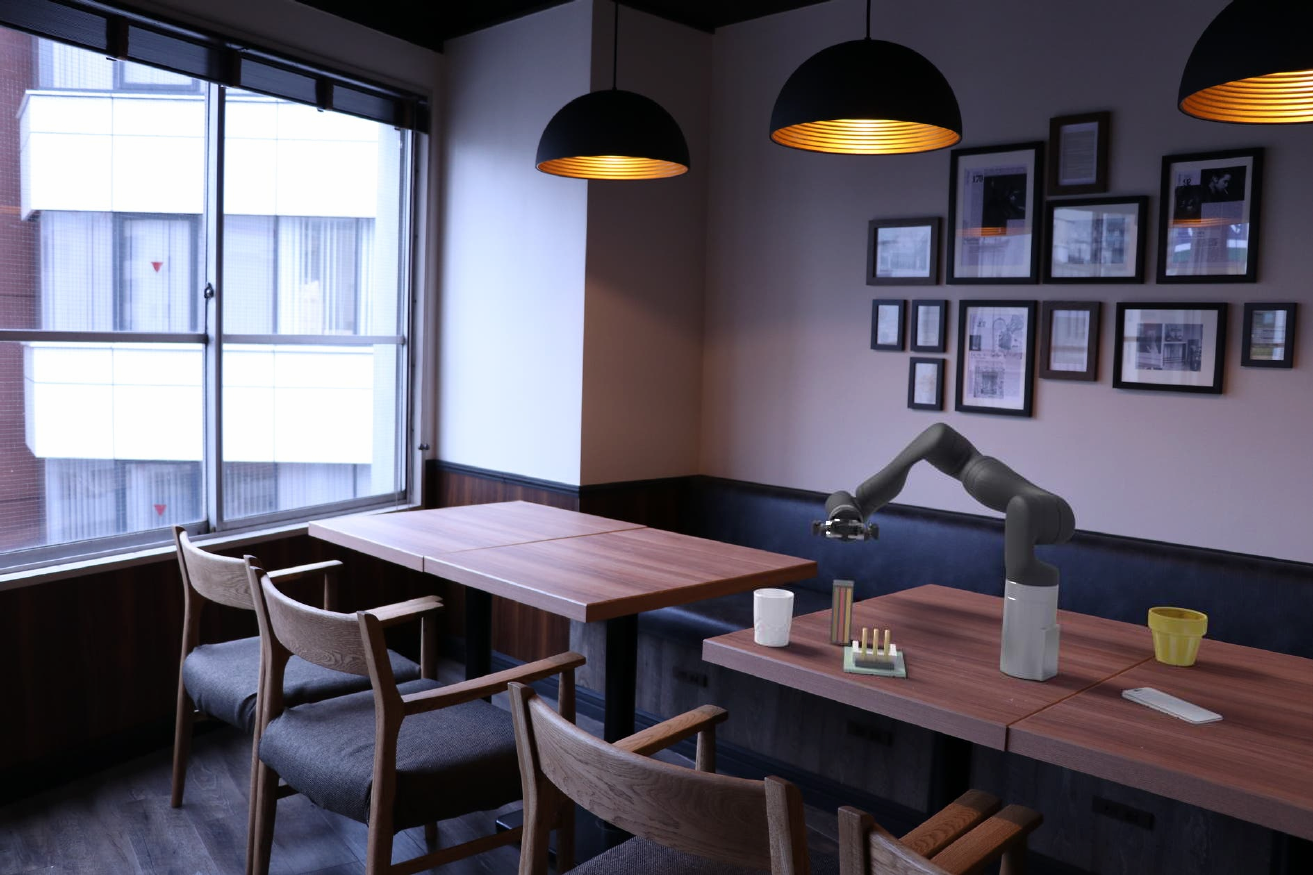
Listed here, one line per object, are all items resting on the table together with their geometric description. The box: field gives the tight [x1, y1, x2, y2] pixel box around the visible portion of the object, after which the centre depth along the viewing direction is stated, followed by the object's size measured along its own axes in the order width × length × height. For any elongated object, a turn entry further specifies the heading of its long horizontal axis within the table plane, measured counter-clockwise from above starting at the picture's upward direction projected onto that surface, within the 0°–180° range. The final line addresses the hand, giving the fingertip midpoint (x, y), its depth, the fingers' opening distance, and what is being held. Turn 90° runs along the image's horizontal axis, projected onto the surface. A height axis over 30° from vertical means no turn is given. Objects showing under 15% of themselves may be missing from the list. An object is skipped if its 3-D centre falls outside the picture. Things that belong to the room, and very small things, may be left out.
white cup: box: [753, 588, 795, 648], centre depth 206 cm, size 8×8×10 cm
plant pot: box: [1147, 606, 1209, 667], centre depth 204 cm, size 10×10×10 cm
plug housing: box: [829, 579, 855, 647], centre depth 209 cm, size 5×4×12 cm
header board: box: [843, 627, 907, 679], centre depth 195 cm, size 15×11×8 cm
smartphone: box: [1121, 686, 1224, 725], centre depth 176 cm, size 7×1×15 cm
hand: (845, 535), depth 218 cm, fingers open, 8 cm apart
